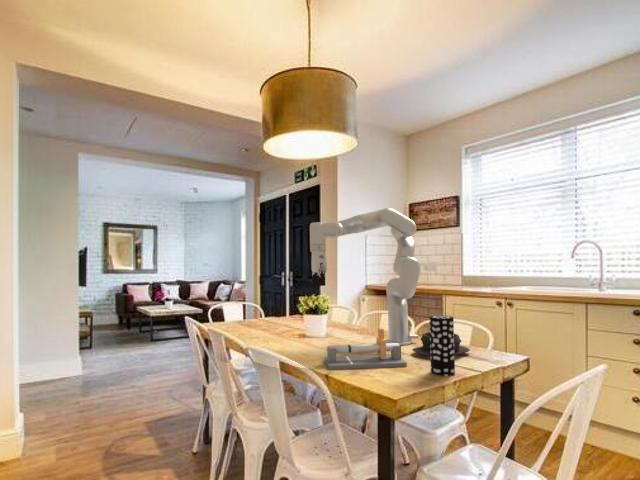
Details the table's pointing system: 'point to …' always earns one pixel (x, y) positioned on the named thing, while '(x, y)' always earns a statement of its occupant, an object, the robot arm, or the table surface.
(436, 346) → the white-spotted black cylinder
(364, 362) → the pipe rig
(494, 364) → the table surface
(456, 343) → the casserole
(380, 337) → the collar
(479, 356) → the table surface
